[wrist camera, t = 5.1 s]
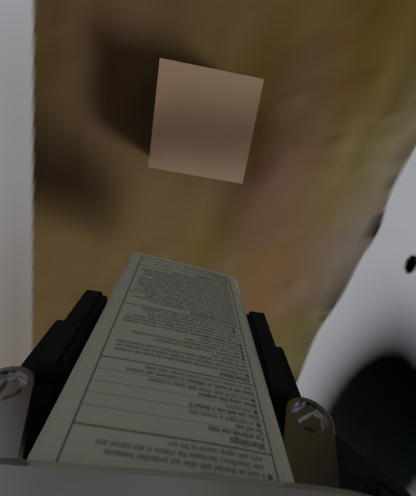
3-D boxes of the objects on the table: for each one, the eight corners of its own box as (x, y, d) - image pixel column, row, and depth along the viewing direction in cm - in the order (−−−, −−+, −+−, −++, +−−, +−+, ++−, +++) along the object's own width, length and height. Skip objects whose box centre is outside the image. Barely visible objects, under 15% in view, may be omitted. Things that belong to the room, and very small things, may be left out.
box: (114, 324, 15) (-89, 771, 4) (133, 246, 13) (-105, 639, 3) (216, 348, 15) (245, 788, 5) (244, 277, 14) (365, 684, 4)
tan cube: (169, 79, 19) (159, 57, 14) (247, 95, 19) (263, 79, 14) (160, 161, 20) (148, 167, 15) (232, 174, 21) (242, 183, 16)
